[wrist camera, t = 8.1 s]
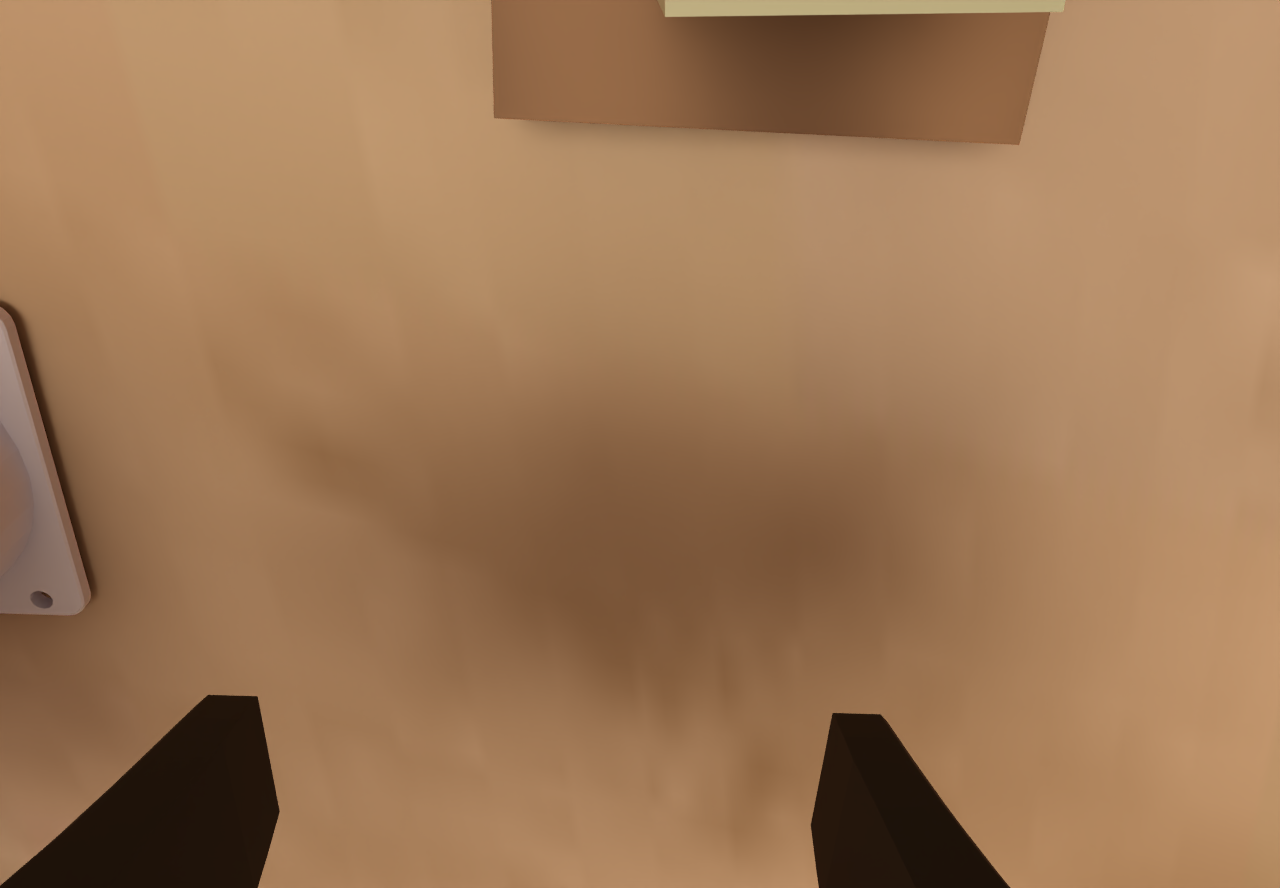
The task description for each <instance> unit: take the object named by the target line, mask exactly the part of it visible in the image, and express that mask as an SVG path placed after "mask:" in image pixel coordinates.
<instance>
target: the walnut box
mask: <svg viewBox="0 0 1280 888" xmlns="http://www.w3.org/2000/svg"><path fill="white" fill-rule="evenodd" d="M491 4H492V49H493V93H494V118H501V119H521V120H540V121H560V122H580V123H600V124H619V125H639V126H659V127H678V128H698V129H718V130H738V131H757V132H777V133H797V134H817V135H836V136H856V137H876V138H896V139H915V140H935V141H955V142H974V143H994V144H1014V145H1019V143H1020V139H1021V135H1022V131H1023V126H1024V122H1025V118H1026V114H1027V109H1028V105H1029V101H1030V96H1031V92H1032V88H1033V84H1034V79H1035V75H1036V71H1037V67H1038V62H1039V58H1040V54H1041V49H1042V45H1043V41H1044V37H1045V32H1046V28H1047V24H1048V20H1049V15H1050V12H1014V13H935V14H855V15H776V16H697V17H665V16H664V14H663V11H662V9H661V7H660V5H659V3H658V1H657V0H491Z"/></svg>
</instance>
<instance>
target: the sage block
mask: <svg viewBox="0 0 1280 888" xmlns="http://www.w3.org/2000/svg"><path fill="white" fill-rule="evenodd" d="M657 1H658V3H659V5H660V7H661V9H662V11H663V14H664V16H665V17H697V16H776V15H855V14H935V13H1014V12H1063V11H1064V6H1065V0H657Z"/></svg>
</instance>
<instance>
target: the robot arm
mask: <svg viewBox="0 0 1280 888" xmlns="http://www.w3.org/2000/svg"><path fill="white" fill-rule="evenodd" d="M41 592H45V593H47V594H48V595H50V597H51V598H48V597H46V596H45V595H43V594H42V593H41ZM90 599H91V592H90V588H89V585H88V581H87V578H86V574H85V571H84V567H83V563H82V560H81V556H80V553H79V549H78V546H77V542H76V539H75V535H74V532H73V528H72V524H71V521H70V517H69V514H68V510H67V507H66V503H65V500H64V496H63V493H62V489H61V486H60V482H59V478H58V475H57V471H56V468H55V464H54V461H53V457H52V454H51V450H50V447H49V443H48V439H47V436H46V432H45V429H44V425H43V422H42V418H41V415H40V411H39V408H38V404H37V400H36V397H35V393H34V390H33V386H32V383H31V379H30V376H29V372H28V369H27V365H26V361H25V358H24V354H23V351H22V347H21V344H20V340H19V337H18V333H17V330H16V326H15V324H14V322H13V320H12V317H11V316H10V315H9V314H8V313H7V312H6V311H5V310H4V309H3V308H1V307H0V613H2V614H34V615H65V616H69V615H76V614H78V613H80V612H81V611H82V610H83V609H84V608H85V607H86V605H87V604H88V603H89V601H90ZM278 815H279V806H278V801H277V796H276V791H275V785H274V780H273V775H272V770H271V764H270V759H269V754H268V749H267V743H266V738H265V733H264V728H263V722H262V717H261V712H260V707H259V701H258V696H226V695H208V696H206V697H205V698H204V699H203V700H202V701H201V702H200V703H199V704H197V705H196V706H195V707H194V708H193V709H192V710H191V711H190V712H189V713H188V714H187V715H186V716H185V717H184V718H183V719H182V720H180V721H179V722H178V723H177V724H176V725H175V726H174V727H173V728H172V729H171V730H170V731H169V732H168V733H167V734H166V735H165V736H164V737H163V738H162V739H161V740H160V741H159V742H158V743H157V744H156V745H155V746H154V747H153V748H151V749H150V750H149V751H148V752H147V753H146V754H145V755H144V756H143V757H142V758H141V759H140V760H139V761H138V762H137V763H136V764H135V765H134V766H133V767H132V768H131V769H130V770H129V771H127V772H126V773H125V774H124V775H123V776H122V777H121V778H120V779H119V780H118V781H117V782H116V783H115V784H114V785H113V786H112V787H111V788H110V789H108V790H107V791H106V792H105V793H104V794H103V795H102V796H101V797H100V798H99V799H98V800H97V801H95V802H94V803H93V804H92V805H91V806H90V807H89V808H88V809H87V810H86V811H85V812H83V813H82V814H81V815H80V816H79V817H78V818H77V819H76V820H75V821H74V822H73V823H72V824H70V825H69V826H68V827H67V828H66V829H65V830H64V831H63V832H62V833H61V834H60V835H58V836H57V837H56V838H55V839H54V840H53V841H52V842H51V843H49V844H48V845H47V846H46V847H45V848H44V849H43V850H41V851H40V852H39V853H38V854H37V855H36V856H34V857H33V858H32V859H31V860H30V861H29V862H27V863H26V864H25V865H24V866H23V867H22V868H20V869H19V870H18V871H17V872H16V873H14V874H13V875H12V876H11V877H10V878H9V879H7V880H6V881H5V882H4V883H3V884H2V885H0V888H258V884H259V881H260V878H261V875H262V871H263V868H264V865H265V861H266V858H267V855H268V851H269V848H270V844H271V840H272V837H273V833H274V830H275V826H276V823H277V819H278ZM811 830H812V838H813V846H814V854H815V862H816V870H817V877H818V884H819V888H1010V887H1009V886H1008V885H1007V883H1006V882H1005V881H1004V880H1003V878H1002V877H1001V876H1000V875H999V874H998V872H997V871H996V870H995V869H994V867H993V866H992V865H991V863H990V862H989V861H988V860H987V858H986V857H985V856H984V854H983V853H982V852H981V851H980V849H979V848H978V847H977V846H976V844H975V843H974V842H973V840H972V839H971V838H970V837H969V835H968V834H967V833H966V831H965V830H964V829H963V828H962V826H961V825H960V824H959V822H958V821H957V820H956V818H955V817H954V816H953V814H952V813H951V812H950V810H949V809H948V808H947V806H946V805H945V803H944V802H943V801H942V799H941V798H940V797H939V795H938V794H937V792H936V791H935V790H934V788H933V787H932V786H931V784H930V783H929V781H928V780H927V779H926V777H925V776H924V774H923V773H922V771H921V770H920V769H919V767H918V766H917V764H916V763H915V762H914V760H913V759H912V757H911V756H910V754H909V753H908V751H907V750H906V749H905V747H904V746H903V744H902V743H901V741H900V740H899V738H898V737H897V735H896V734H895V732H894V731H893V730H892V728H891V727H890V725H889V724H888V722H887V721H886V720H885V719H884V718H883V717H882V716H881V715H880V714H846V713H833V714H832V719H831V724H830V729H829V735H828V740H827V745H826V750H825V755H824V760H823V765H822V771H821V776H820V781H819V786H818V791H817V796H816V801H815V807H814V812H813V817H812V822H811Z"/></svg>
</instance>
